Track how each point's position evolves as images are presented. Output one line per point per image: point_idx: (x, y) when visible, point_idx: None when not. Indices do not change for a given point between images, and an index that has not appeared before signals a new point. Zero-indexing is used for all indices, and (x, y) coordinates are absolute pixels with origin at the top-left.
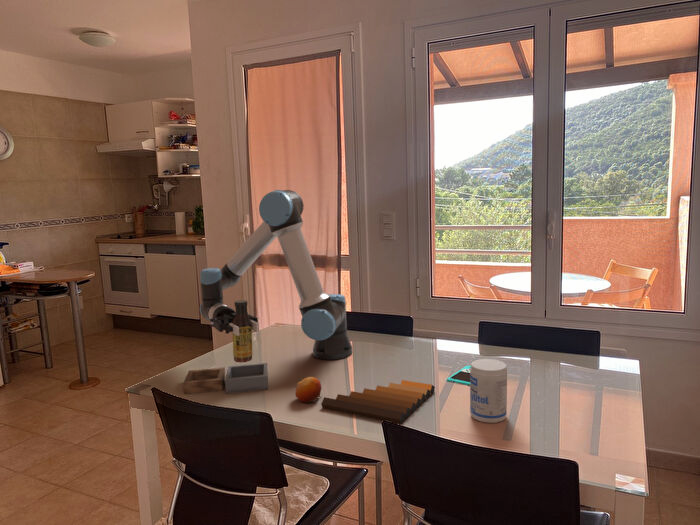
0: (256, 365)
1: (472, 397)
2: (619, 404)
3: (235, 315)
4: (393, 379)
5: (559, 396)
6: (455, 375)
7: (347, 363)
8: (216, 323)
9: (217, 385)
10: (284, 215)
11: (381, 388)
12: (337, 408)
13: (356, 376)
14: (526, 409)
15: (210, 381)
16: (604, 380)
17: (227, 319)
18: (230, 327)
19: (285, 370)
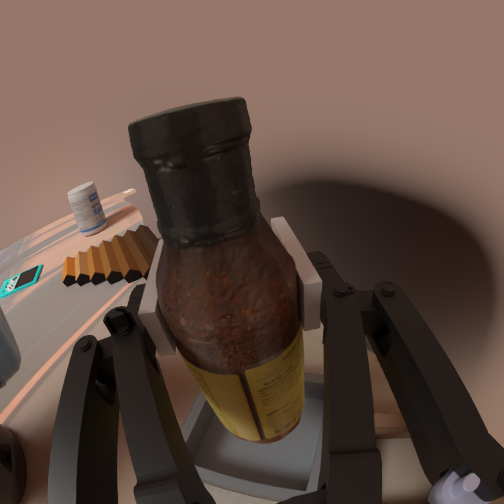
0: (205, 469)
1: (98, 210)
2: (46, 228)
3: (263, 217)
4: (50, 309)
5: (44, 240)
6: (25, 283)
7: (19, 402)
8: (434, 345)
9: None
10: None
11: (97, 269)
12: None
13: (59, 344)
14: (72, 232)
15: (384, 414)
16: (13, 248)
17: (333, 431)
18: (314, 254)
19: (120, 475)
